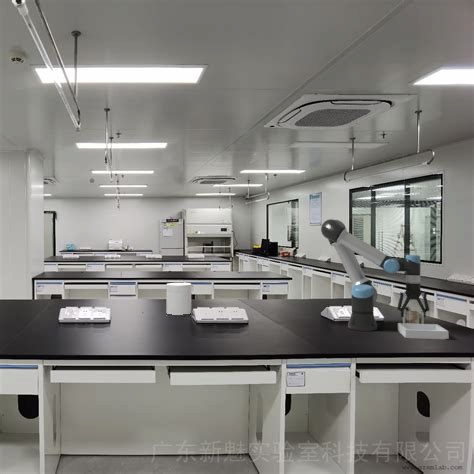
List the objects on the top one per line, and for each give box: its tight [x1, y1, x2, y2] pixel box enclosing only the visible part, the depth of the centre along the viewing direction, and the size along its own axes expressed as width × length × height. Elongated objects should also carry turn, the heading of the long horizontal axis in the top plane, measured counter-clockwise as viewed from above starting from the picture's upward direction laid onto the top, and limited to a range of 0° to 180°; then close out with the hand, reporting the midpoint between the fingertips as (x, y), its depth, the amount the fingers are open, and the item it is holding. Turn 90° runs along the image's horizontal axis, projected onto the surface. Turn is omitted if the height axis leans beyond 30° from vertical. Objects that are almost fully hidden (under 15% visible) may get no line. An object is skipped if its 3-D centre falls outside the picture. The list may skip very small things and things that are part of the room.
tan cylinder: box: [406, 310, 420, 324], centre depth 238 cm, size 5×5×9 cm
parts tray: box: [397, 322, 450, 340], centre depth 220 cm, size 20×18×4 cm
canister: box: [165, 282, 192, 315], centre depth 278 cm, size 16×16×20 cm
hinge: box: [404, 305, 412, 320], centre depth 257 cm, size 17×5×10 cm, turn 164°
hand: (413, 323), depth 238 cm, fingers open, 9 cm apart
